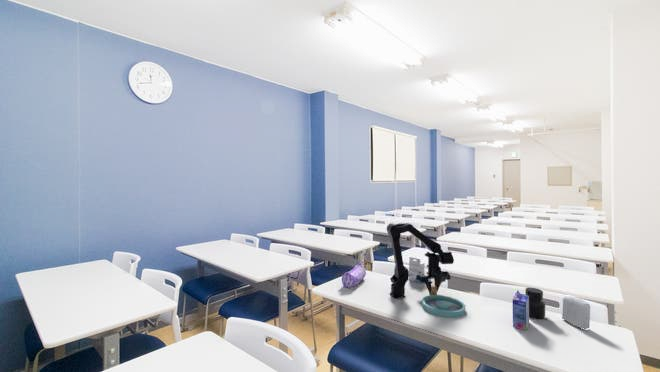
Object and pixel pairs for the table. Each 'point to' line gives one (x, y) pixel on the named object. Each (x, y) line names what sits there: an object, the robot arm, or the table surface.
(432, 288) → the wooden bead
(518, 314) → the ink cartridge box
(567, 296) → the photo printer
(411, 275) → the ink box
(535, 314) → the ink bottle
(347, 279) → the pencil case
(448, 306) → the round tray
